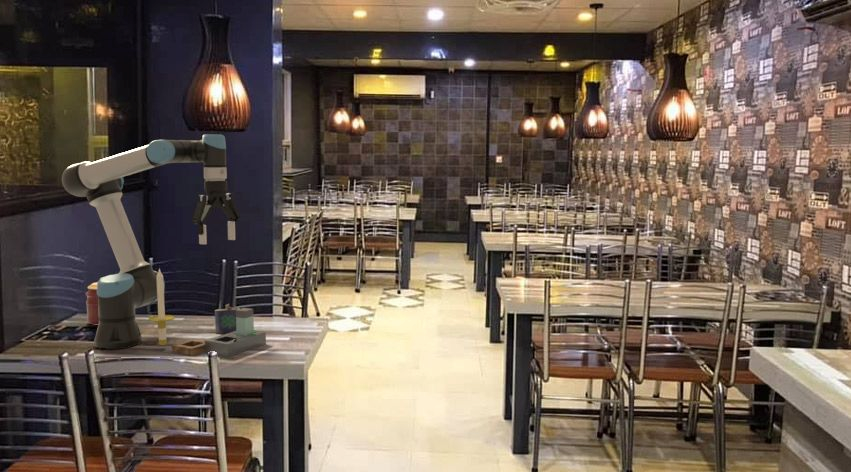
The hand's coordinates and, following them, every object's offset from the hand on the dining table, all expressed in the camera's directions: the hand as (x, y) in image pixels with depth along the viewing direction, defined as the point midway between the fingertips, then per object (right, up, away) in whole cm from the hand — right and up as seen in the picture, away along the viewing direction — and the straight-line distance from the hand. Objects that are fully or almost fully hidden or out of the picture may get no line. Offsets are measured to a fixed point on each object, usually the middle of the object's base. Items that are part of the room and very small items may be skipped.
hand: (217, 242), depth 254 cm
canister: (-52, -32, +32) cm, 69 cm away
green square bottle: (+11, -34, -5) cm, 37 cm away
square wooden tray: (-5, -36, -11) cm, 38 cm away
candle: (-18, -36, -3) cm, 40 cm away
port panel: (+9, -36, -9) cm, 38 cm away
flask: (0, -34, +14) cm, 36 cm away
